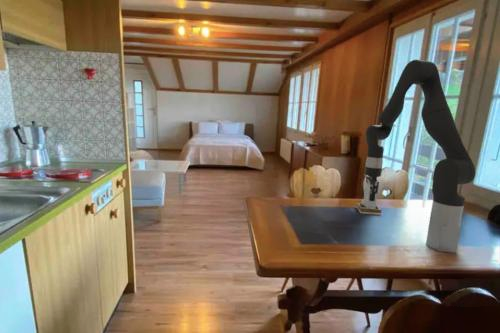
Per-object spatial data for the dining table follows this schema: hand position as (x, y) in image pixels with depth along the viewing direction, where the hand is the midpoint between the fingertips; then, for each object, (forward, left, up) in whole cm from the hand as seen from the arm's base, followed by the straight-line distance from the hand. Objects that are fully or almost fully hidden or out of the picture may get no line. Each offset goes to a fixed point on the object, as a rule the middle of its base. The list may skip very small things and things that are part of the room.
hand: (369, 198), depth 140 cm
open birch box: (0, 0, -7) cm, 7 cm away
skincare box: (0, 0, -4) cm, 4 cm away
